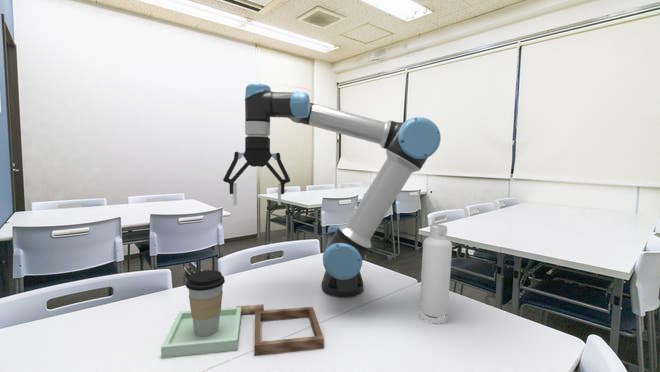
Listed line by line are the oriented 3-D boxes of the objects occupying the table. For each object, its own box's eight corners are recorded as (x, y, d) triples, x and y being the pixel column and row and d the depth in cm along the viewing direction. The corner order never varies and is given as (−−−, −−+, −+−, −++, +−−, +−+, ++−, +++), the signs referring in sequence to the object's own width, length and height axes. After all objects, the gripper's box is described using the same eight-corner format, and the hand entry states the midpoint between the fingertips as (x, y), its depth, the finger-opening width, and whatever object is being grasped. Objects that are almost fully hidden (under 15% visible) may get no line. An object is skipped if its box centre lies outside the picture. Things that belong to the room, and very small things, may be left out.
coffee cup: (212, 343, 78) (211, 284, 77) (178, 337, 80) (177, 280, 79) (231, 323, 88) (231, 270, 86) (200, 319, 89) (200, 267, 88)
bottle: (436, 309, 101) (441, 222, 98) (453, 322, 93) (459, 228, 91) (413, 312, 99) (418, 223, 96) (429, 325, 91) (435, 229, 88)
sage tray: (241, 315, 94) (241, 306, 94) (237, 350, 78) (237, 340, 77) (179, 320, 90) (179, 311, 90) (161, 357, 74) (161, 347, 74)
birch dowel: (263, 302, 97) (263, 310, 95) (263, 306, 98) (263, 314, 97) (236, 304, 95) (235, 312, 93) (236, 308, 96) (236, 316, 95)
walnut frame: (312, 314, 96) (312, 306, 95) (323, 348, 79) (323, 338, 79) (255, 319, 92) (255, 311, 92) (254, 355, 76) (254, 345, 75)
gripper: (296, 138, 104) (295, 202, 106) (216, 135, 99) (217, 203, 101) (299, 137, 97) (298, 206, 99) (213, 134, 92) (214, 206, 94)
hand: (257, 204), depth 100 cm, fingers open, 13 cm apart
